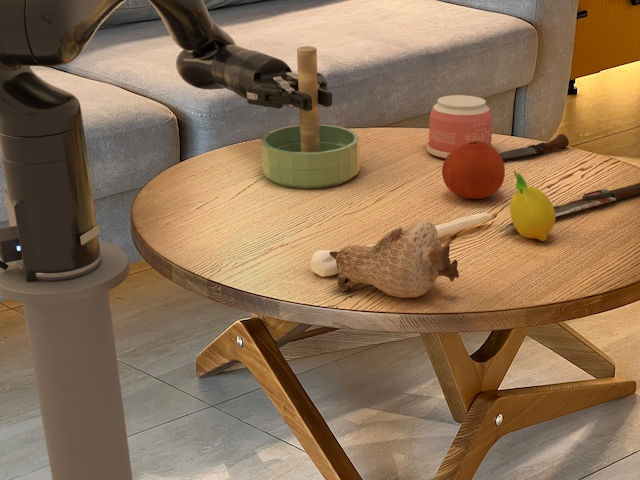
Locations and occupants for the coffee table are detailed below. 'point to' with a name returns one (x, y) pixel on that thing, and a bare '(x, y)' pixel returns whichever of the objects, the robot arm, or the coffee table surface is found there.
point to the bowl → (310, 157)
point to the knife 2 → (592, 200)
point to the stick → (310, 87)
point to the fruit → (473, 170)
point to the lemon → (531, 211)
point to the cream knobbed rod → (327, 264)
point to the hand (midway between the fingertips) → (319, 101)
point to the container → (458, 124)
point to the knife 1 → (537, 148)
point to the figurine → (398, 262)
